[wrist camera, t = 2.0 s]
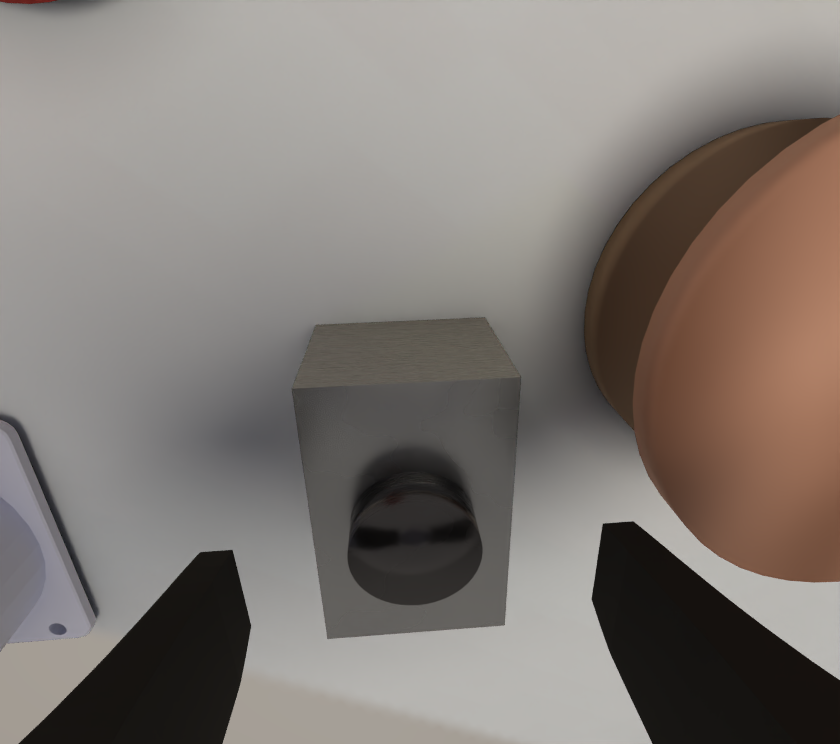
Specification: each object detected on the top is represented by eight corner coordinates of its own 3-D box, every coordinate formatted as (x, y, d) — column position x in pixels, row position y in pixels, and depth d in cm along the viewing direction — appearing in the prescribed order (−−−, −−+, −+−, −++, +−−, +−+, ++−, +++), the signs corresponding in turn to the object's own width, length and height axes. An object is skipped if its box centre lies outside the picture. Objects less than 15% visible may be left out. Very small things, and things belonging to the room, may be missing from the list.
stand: (552, 467, 16) (624, 599, 11) (585, 103, 11) (719, 73, 7) (859, 446, 16) (1049, 563, 11) (996, 89, 12) (1377, 52, 7)
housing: (340, 528, 16) (323, 677, 12) (316, 322, 13) (282, 413, 9) (477, 519, 16) (514, 661, 12) (483, 315, 14) (534, 400, 9)
